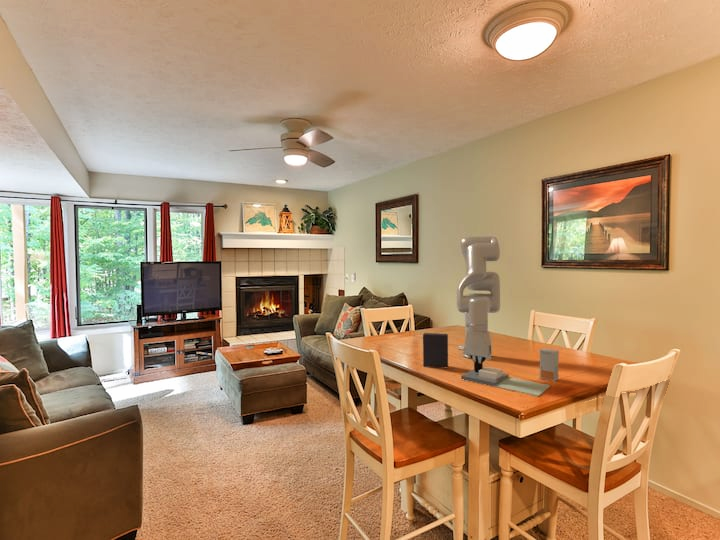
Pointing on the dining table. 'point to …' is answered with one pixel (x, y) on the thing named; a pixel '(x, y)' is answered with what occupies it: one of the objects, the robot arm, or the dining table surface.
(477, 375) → the board
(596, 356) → the dining table surface
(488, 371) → the coaster tile
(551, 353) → the skincare box
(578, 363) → the dining table surface
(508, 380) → the mat
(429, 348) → the black rectangular block
